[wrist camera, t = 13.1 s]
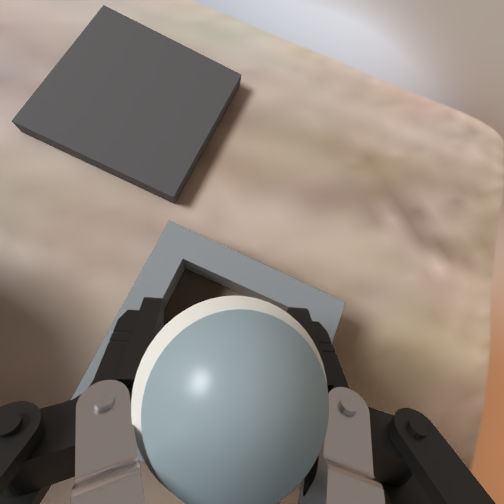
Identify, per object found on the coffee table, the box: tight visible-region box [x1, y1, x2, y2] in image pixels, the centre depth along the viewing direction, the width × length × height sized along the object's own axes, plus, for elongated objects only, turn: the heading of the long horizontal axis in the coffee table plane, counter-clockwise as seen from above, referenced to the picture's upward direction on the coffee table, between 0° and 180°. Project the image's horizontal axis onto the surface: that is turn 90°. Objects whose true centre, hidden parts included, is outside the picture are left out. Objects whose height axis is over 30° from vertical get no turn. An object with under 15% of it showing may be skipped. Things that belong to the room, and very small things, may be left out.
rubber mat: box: [12, 5, 241, 203], centre depth 20 cm, size 10×10×1 cm
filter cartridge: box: [131, 296, 329, 504], centre depth 12 cm, size 5×5×10 cm
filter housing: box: [71, 220, 346, 504], centre depth 14 cm, size 16×19×5 cm
